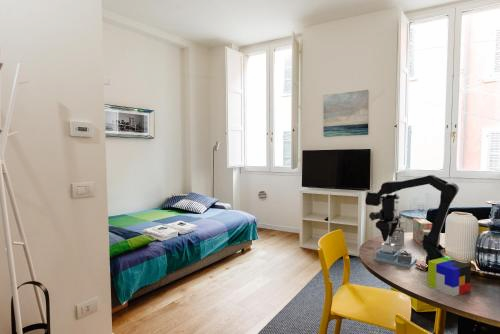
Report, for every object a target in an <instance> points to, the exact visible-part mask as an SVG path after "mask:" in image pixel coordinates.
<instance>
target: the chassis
mask: <svg viewBox="0 0 500 334" xmlns="http://www.w3.org/2000/svg"><path fill="white" fill-rule="evenodd" d="M398 252H401V251H399V250H395V254H394V255H391V254H386V253H381V248H380V249H378V250H377V251H376V252H375V254H376V256H375V257H374V260H375V261H378V262H383V263H386V264H390V265H396V266H399V267H405V268H407V269H408V268H409V269H411V268H412V267H414V265H415V263H416V262H417V261H418V260H417V258H416V257H412V259H411V262H403V261H398ZM405 256H406V255H405Z"/></svg>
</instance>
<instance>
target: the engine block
mask: <svg viewBox="0 0 500 334" xmlns="http://www.w3.org/2000/svg"><path fill="white" fill-rule="evenodd" d="M380 245H381V248H380V249H381V253H386V254H391V255H394V254H395V251H396V250H395V249H396V248H395V244H392V242H389V241H383V243H381V244H380Z"/></svg>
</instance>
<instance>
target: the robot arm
mask: <svg viewBox="0 0 500 334" xmlns="http://www.w3.org/2000/svg"><path fill="white" fill-rule="evenodd" d="M425 185H430V186H431V187H433V188H434V189H436V190H437V191H440V194H439V195H440V196H439V197H440V198H439V199H440V200H439V201H440V202H439V204H438V207H437V210H436V214H435V216H434V220H433V222H432V224H433V225H432V228H431V231H430V232H426V233H425V234H424V238H423V241H422V242H421V243H423V244H422V248H423V250H424V251H425V252H426V256H425V265H426V264H427V265H428V261H430V260H435V259H439V258H443V257H446V256H445V255H443V254H444V252H445V250H446V249H445V248H444V247H443V246H442V245H441V244H440V242H441V232H442V229H443V226H444V224H445V221H446V218H447V214H448V212H449V210H450V206H451V204H452V202H454V200H455V197H456V196H457V194H458V193H459V190H460V188H459V186H458V184H456V182H455V183H454V182H448V181H446V180H444V179H442V178H440V177H438V176H436V175H435V174H429V175H424V176H420V177H415V178H411V179H405V180H389V181H386V182H382V184H381V185H380V189H379V191H377V192H373V191H367V193H366V195H365V205H366V206H371V207H372V206H373V207H380V205H381V209H380V210H379V211H373V212H370V213H369V215H368V216H369V217H368V219H370V220H371V221H374V220H378V221H376V222H375V228H376V229H378V230H379V231H380V233H381V236H382V240H383V242H387V240H388V239H389V236H390V237H392V235H393V233H394V231H395V229H396V227H398V225H400V223H399V221H400V219H401V217H400V216H399V215H397V214H396V215H395V212H396V213H397V208H395V207H396V206H395V205H396V203H395V201H396V200H399V199H400V196H399V195H398V194H397V193H396V192H399V191H401V190H404V189H410V188H414V187H420V186H425ZM393 193H394V194H393ZM384 195H385V196H384ZM396 221H397V222H396ZM427 265H426V266H427Z"/></svg>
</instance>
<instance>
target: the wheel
mask: <svg viewBox="0 0 500 334" xmlns="http://www.w3.org/2000/svg"><path fill="white" fill-rule="evenodd" d="M405 255H406V256H405ZM412 258H413V257H412V252H403V251H400V252H398V261H403V262H411V259H412Z"/></svg>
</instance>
